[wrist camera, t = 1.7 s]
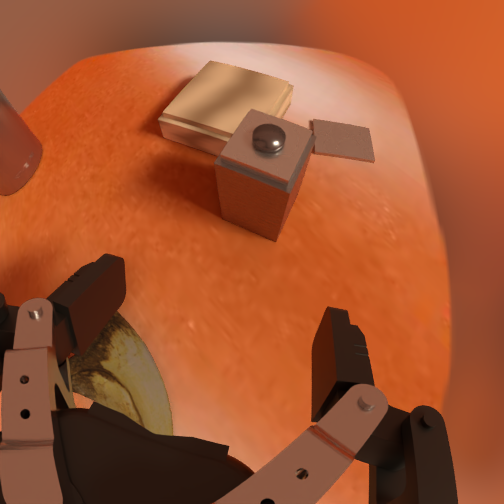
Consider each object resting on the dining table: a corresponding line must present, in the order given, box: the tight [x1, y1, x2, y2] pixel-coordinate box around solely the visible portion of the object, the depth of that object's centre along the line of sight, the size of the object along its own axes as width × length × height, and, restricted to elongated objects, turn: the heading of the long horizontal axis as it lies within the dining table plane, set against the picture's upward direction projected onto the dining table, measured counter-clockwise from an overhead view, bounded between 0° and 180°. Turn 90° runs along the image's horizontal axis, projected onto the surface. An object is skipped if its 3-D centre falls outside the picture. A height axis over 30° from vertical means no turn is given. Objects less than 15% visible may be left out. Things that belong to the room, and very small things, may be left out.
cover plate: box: [313, 119, 375, 163], centre depth 32 cm, size 7×5×1 cm
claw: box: [69, 311, 173, 436], centre depth 21 cm, size 20×10×3 cm, turn 11°
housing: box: [214, 109, 317, 242], centre depth 24 cm, size 6×6×11 cm
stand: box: [158, 61, 294, 156], centre depth 30 cm, size 11×11×4 cm
